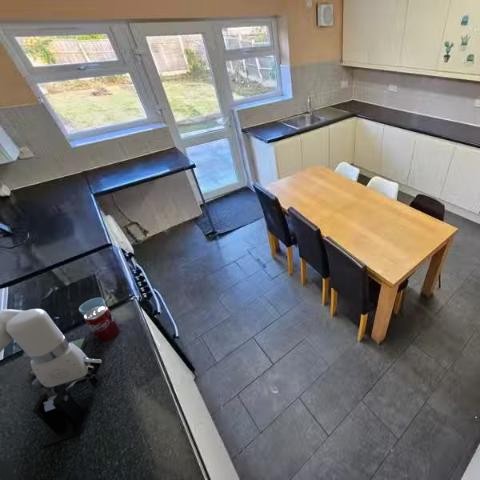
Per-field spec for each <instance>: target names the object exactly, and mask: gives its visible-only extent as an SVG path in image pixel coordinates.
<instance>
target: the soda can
mask: <svg viewBox="0 0 480 480" xmlns="http://www.w3.org/2000/svg"><path fill="white" fill-rule="evenodd" d="M83 321H84V322H85V324H86V325H87V327H88V329H90V332H91V333H92V334H93V335H94V337H95V338H96V340H97V341H98V343H99V342H100V343H106V342H108V341H111V340H113V339H114V338H116V337H117V336H118V335H119V334H121V331H122V329H121V328H120V326H119V324H118V322H117V321H116V319H115V317H114V315H113V314H112V312H111V310H110V308H109V307H108V306H107V305H106V306H98V307H95V308H93V309H91V310H89V311H88V312H87V313H86V314H85V316H84V315H83Z"/></svg>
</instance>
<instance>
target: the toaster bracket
mask: <svg viewBox="0 0 480 480" xmlns="http://www.w3.org/2000/svg"><path fill="white" fill-rule="evenodd" d="M56 395H57V396H56V398H55V400H54V402H53V406H54V407H55V409H52V410H49V411H46V412H45V409H44V406H43V402H45V401H46V400H47V399H48V398H50V396H49V395H47V394H46V393H42V394H40V396H39V398H38V400H37V402H36V404H35V405H34V408H33V410H32V412H33V413H34V414H35V415H36V416H37V417H38V418H39V419H41V420H42V422H43V423H44V424H46V425H47V426H48V428H49V429H50V431H49V432H48V435H47V437H46V440H45V441H44V444H43V448H47V447H49V446H52V445H54V444H57V443H60V442H62V441H65V440H68V439H70V438H74V437H76V436H80V435H81V434H82V433H83V429H84V427H85V424H86V421H87V418H88V415H89V413H90V409H91V407H92V404H93V400H94V399H93V398H89V399H86V400H83V401H80V402H78V401H77V400H76V399H75V398H74V397H73V396H72V395H71V394H70V392H67V390H66V389H65V388H61V389H59V391H58V394H57V393H56Z"/></svg>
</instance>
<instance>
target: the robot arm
mask: <svg viewBox="0 0 480 480" xmlns="http://www.w3.org/2000/svg"><path fill="white" fill-rule="evenodd" d="M13 341H14V342H15V343H16V344H17V345H18V346H19V347H20V348H21V349H22V350H23V353H22V357H23V358H30V366H31V369H32V370H33V372H34V373H35V375H34V376H35V378H34V379H33V380H32V382H31V385H32V386H35V387H40V388H44V389H48V390H49V391H54V392H55V394H56V395H57V394H58V391H59V389H61V388H65V389H66V384H67V383H69V382H72V381H76V380H79V379H82V378H85V377H86V378H87V379H88V381H89V383H90V385H91V386H92V387H93V388H96V387H98V385H99V382H100V381H101V376H100V375H99V374H98V371H99V369H100V368H101V366H102V362H103V359H99V358H98V359H97V358H89V357H88V356H87V355H86V354H85V352H84V351H83V350H82V351H81V350H80V349H79V348H78V347H77V346H76V345H74V344H73V343H69V342H70V341H68V339H67V338H66V337H65V335H64V334H63V332H62V331H61V330H60V329H59V327H58V326H57V325H56V324H55V322H54V320H53V318H51V317H50V315H49V314H48V313H47V311H45V310H44V309H42V308H30V309H27V310H22V309H12V308H11V309H10V308H5V309H0V353H1V352H2V351H3V350H4V349H5V348H6V347H7V346H8V345H9V344H10V343H11V342H13Z"/></svg>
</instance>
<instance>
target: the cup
mask: <svg viewBox="0 0 480 480" xmlns="http://www.w3.org/2000/svg"><path fill="white" fill-rule="evenodd" d="M98 306H106V307H107V304H106V302H105V299H104V298H103V297H94V298H90V299H89V300H86V301H84V302H83V303H82V304H81V305H80V306H79V307H78V311H79V312H80V313H81V314H82V316H83V317H84V316H85V314H86V313H87V312H88V311H89V310H91V309H93V308H95V307H98Z"/></svg>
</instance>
